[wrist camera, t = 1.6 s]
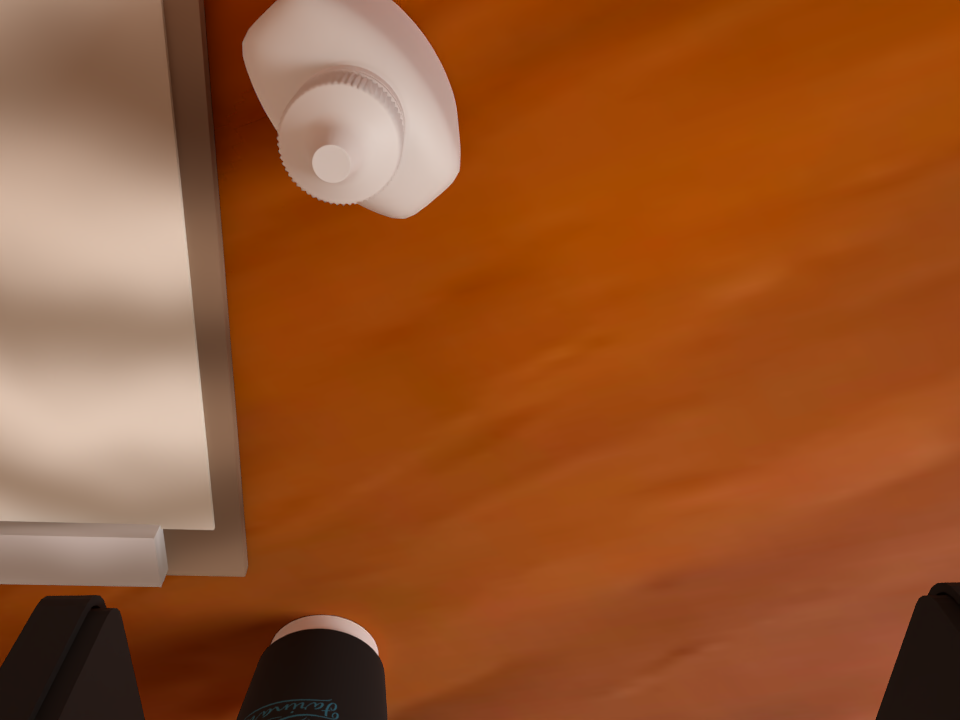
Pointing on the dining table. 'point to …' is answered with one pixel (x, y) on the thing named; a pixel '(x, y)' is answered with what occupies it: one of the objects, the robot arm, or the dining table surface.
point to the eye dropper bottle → (355, 102)
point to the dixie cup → (318, 674)
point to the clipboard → (113, 300)
